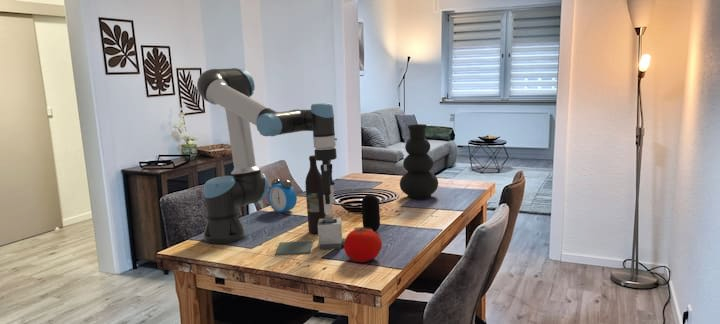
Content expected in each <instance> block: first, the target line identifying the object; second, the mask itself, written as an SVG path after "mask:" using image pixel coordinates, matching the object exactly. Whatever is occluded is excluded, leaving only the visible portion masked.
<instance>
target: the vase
mask: <svg viewBox="0 0 720 324" xmlns="http://www.w3.org/2000/svg"><path fill="white" fill-rule="evenodd" d="M407 128H408V131H409V139H408V140H407V141H406V143H405V146H404V147H405V148H404V149H405V151H406V153H407V154H408V155H406V157H405V158H404V160H403V162H402V163H403V164H402V165H403V168H404V169H405V171H407V172H406V173H405V174H403V175H402V176H401V177H400V180H399V186H400V188H399V189H400V190H401V191H402V192H403V193H404V194H405V195H407V197H408V199H412V200H424V199H425V200H426V199H429V198H431V197H432V194H434V193H435V192H436V191H437V189H438V187H439V180H438V177H437V176H436V175H435V173H432V172H431V170H432V169H433V167H434V159H433V158H432V156H430V155H429V154H428V153H430V150H431V144H430V142H429V140H428V139H427V138H425V137H426V128H427V124H426V123H425V124H424V123H423V124H422V123H419V124H415V123H414V124H408V125H407Z"/></svg>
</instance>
